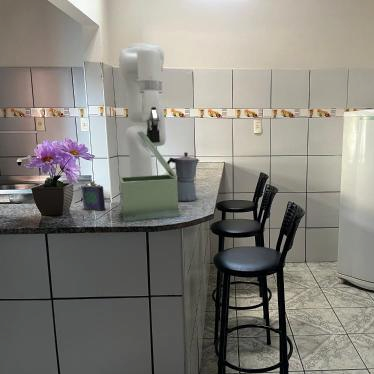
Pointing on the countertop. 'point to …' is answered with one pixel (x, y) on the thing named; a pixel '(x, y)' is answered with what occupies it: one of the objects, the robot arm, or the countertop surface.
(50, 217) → the countertop surface
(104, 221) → the countertop surface
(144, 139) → the breadbox lid
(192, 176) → the moka pot
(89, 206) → the flask
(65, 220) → the countertop surface
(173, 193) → the box
